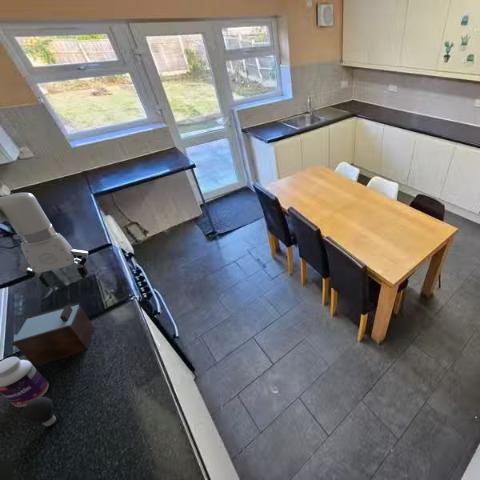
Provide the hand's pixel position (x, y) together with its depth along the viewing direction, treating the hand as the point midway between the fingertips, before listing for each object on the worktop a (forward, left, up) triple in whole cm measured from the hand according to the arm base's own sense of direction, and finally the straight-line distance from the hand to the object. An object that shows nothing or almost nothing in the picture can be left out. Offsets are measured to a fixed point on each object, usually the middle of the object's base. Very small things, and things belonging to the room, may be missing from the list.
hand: (67, 280), depth 89 cm
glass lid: (-11, 0, -14) cm, 18 cm away
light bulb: (-7, -31, -26) cm, 41 cm away
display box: (-11, 0, -26) cm, 28 cm away
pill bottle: (-15, -18, -26) cm, 35 cm away
